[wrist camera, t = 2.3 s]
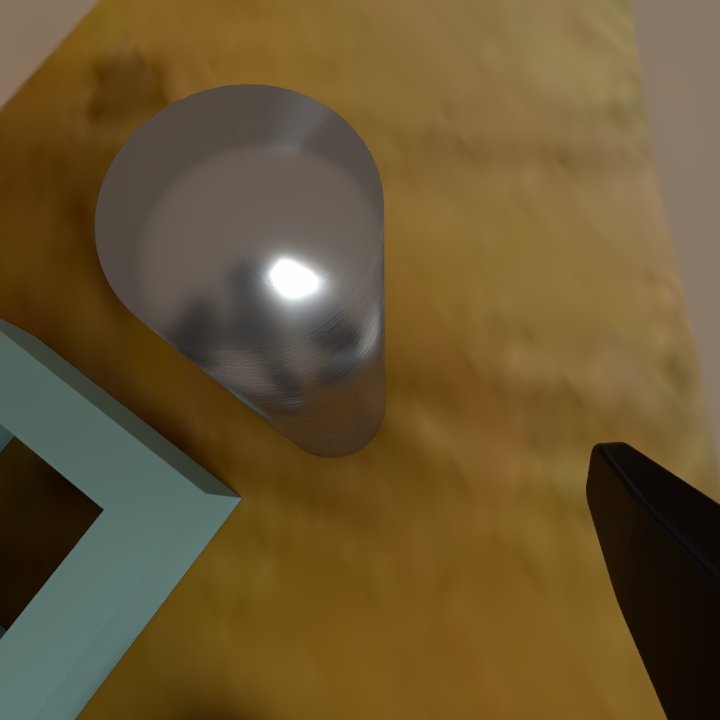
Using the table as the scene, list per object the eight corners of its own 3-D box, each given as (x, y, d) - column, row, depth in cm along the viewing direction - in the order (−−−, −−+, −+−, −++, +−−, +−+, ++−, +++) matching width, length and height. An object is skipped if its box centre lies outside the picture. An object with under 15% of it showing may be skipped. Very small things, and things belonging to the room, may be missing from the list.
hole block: (44, 759, 18) (-52, 828, 14) (-164, 562, 19) (-303, 574, 15) (241, 498, 19) (205, 493, 15) (34, 335, 21) (-46, 294, 17)
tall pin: (343, 479, 19) (262, 410, 7) (257, 416, 20) (34, 241, 7) (406, 392, 20) (441, 176, 7) (321, 333, 20) (218, 38, 8)
